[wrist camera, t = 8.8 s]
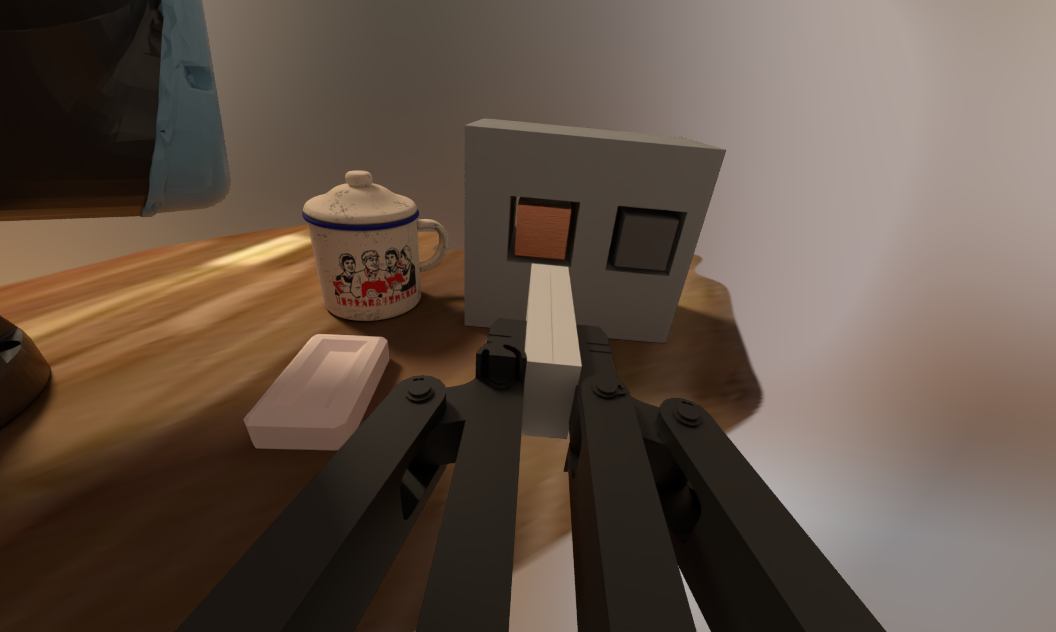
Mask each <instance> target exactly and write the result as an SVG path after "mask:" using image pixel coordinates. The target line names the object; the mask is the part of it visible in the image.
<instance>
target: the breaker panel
mask: <svg viewBox="0 0 1056 632" xmlns="http://www.w3.org/2000/svg"><path fill="white" fill-rule="evenodd" d="M725 152H726V150H724V149H721V148H717V147H714V146H711V145H707V144H704V143H700V142H696V141H693V140H690V139H686V138H683V137H675V136H664V135H654V134H643V133H632V132H622V131H611V130H600V129H589V128H580V127H569V126H558V125H548V124H547V125H546V124H537V123H527V122H516V121H505V120H495V119H482V120H479V121H476V122H473V123H470V124H467V125H465V325H466V326H477V327H489V328H490V327H491V325H492V324H493V323H494V322H495V321H496V320H497V319H498V318H505V319H516V320H526V315H527V305H528V295H529V285H530V276H531V266H532V263H533V264H543V265H553V266H563V267H568V269H569V277H570V284H571V291H572V299H573V306H574V314H575V321H576V324H578V325H588V326H599V327H600V328H601V329H602V330H603V331H604V332H605V334H606V335H607V337H608V338H611V339H623V340H634V341H645V342H656V343H666V341H667V337H668V334H669V331H670V328H671V325H672V322H673V318H674V315H675V312H676V309H677V306H678V302H679V299H680V296H681V293H682V290H683V286H684V283H685V280H686V277H687V274H688V270H689V267H690V264H691V261H692V258H693V254H694V251H695V248H696V245H697V242H698V238H699V235H700V232H701V229H702V226H703V223H704V219H705V216H706V213H707V210H708V206H709V203H710V200H711V197H712V194H713V191H714V187H715V184H716V181H717V178H718V175H719V171H720V168H721V165H722V162H723V158H724V155H725ZM517 196H519V197H530V198H540V199H551V200H562V201H569V202H570V207H571V215H570V222H569V229H568V237H567V244H566V251H565V258H564V260H563V259H552V258H541V257H530V256H519V255H515V241H516V227H517V226H515V215H516V201H517Z"/></svg>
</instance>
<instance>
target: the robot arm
mask: <svg viewBox="0 0 1056 632" xmlns="http://www.w3.org/2000/svg"><path fill="white" fill-rule="evenodd" d="M230 186H231V179H230V172H229V166H228V159H227V153H226V146H225V140H224V133H223V127H222V121H221V114H220V108H219V102H218V96H217V89H216V84H215V77H214V72H213V65H212V58H211V52H210V46H209V39H208V33H207V27H206V21H205V15H204V9H203V4H202V0H0V221H20V220H45V219H46V220H47V219H74V218H99V217H127V216H141V217H152V216H154V215H155V214H156V213H164V212H174V211H184V210H194V209H205V208H209V207H212V206H215V204H217V203H219V202H221V201H222V200H223V199H225V197H226V195H227V194H228V193H229V190H230ZM49 373H50V369H49V365H48V363H47V362H46V360H45V359H44V357H43V356H42V354H41V353H40V351H39V350H38V348H37V347H36V345H35V344H34V342H33V341H32V339H31V338H30V337H29V336H28V335H27V334H26V333H25V332H24V331H23V330H21V329H20V328H18V327H17V326H15V325H14V324H12V323H11V322H9V321H8V320H7V319H5V318H4V317H2V316H1V315H0V427H1V426H3V425H4V424H6V423H7V422H8V421H10V420H11V419H12V418H14V417H15V416H16V415H17V414H19V413H20V412H21V411H22V410H23V409H25V408H26V407H27V406H28V405H29V404H30V403H31V402H32V401H33V400H34V399H35V398H36V397H37V396H38V394H39V393H40V392H41V391H42V389H43V388H44V386H45V385H46V383H47V381H48V378H49ZM568 431H569V434H570V443H569V448H568V452H567V457H566V462H565V467H564V472H568V474H569V491H570V507H571V524H572V541H573V558H574V574H575V591H576V608H577V625H578V632H696V628H695V624H694V621H693V617H692V614H691V610H690V607H689V603H688V599H687V596H686V592H685V589H684V585H683V581H682V578H681V574H680V571H679V568H680V570H681V572H682V574H683V576H684V578H685V580H686V582H687V584H688V586H689V588H690V590H691V592H692V594H693V596H694V598H695V600H696V602H697V604H698V606H699V608H700V610H701V612H702V614H703V616H704V619H705V621H706V622H707V625H708V627H709V629H710V630H711V632H886V630H885V629H884V628H883V627H882V626H881V624H880V623H879V622H878V621H877V620H876V618H874V616H873V615H872V613H871V612H870V611H869V610H868V608H866V606H865V605H864V604H863V602H862V601H861V600H860V599H859V597H858V596H857V595H856V594H855V592H854V591H853V590H852V589H851V588H850V586H849V585H848V584H847V583H846V581H845V580H844V579H843V578H842V576H841V575H840V574H839V573H838V572H837V570H836V569H835V568H834V567H833V565H832V564H831V563H830V562H829V561H828V559H827V558H826V557H825V556H824V554H823V553H822V552H821V551H820V549H819V548H818V547H817V546H816V545H815V543H814V542H813V541H812V540H811V538H810V537H809V536H808V535H807V534H806V533H805V531H804V530H803V529H802V527H801V526H800V525H799V524H798V523H797V521H796V520H795V519H794V518H793V516H792V515H791V514H790V513H789V511H788V510H787V509H786V508H785V506H784V505H783V504H782V503H781V502H780V500H779V499H778V498H777V497H776V495H775V494H774V493H773V492H772V491H771V489H770V488H769V487H768V486H767V485H766V483H765V482H764V481H763V480H762V478H761V477H760V476H759V475H758V473H757V472H756V471H755V470H754V469H753V467H752V466H751V465H750V464H749V462H748V461H747V460H746V459H745V457H744V456H743V455H742V454H741V453H740V451H739V450H738V449H737V448H736V446H735V445H734V444H733V443H732V441H731V440H730V439H729V438H728V437H727V435H726V434H725V433H724V432H723V430H722V429H721V428H720V427H719V425H718V424H717V423H716V422H715V421H714V419H713V418H712V417H711V416H710V414H709V413H708V412H707V411H705V410H704V409H703V408H702V407H701V406H699V405H697V404H695V403H694V402H692V401H688V400H685V399H681V398H671V399H667V400H665V401H664V402H663V403H662V404H661V405H660V408H659V407H656V406H653V405H650V404H647V403H644V402H641V401H639V400H636V399H635V398H633V397H631V395H630V392H629V390H628V388H627V387H626V386H625V385H624V384H623V383H622V382H621V381H620V380H618V376H617V372H616V368H615V364H614V360H613V357H612V354H611V349H610V346H609V341H608V337H607V335H606V334H605V332H604V331H603V330H602V329H601V328H600V327H599V326H588V325H578V324H576V321H575V314H574V306H573V299H572V291H571V284H570V277H569V269H568V267H563V266H553V265H543V264H533V263H532V266H531V276H530V285H529V295H528V305H527V315H526V320H516V319H505V318H498V319H497V320H496V321H495V322H494V323H493V324H492V325H491V327H490V332H489V336H488V340H487V344H485V345H484V346H482V347H480V348H479V350H478V351H477V353H476V378H475V379H473V380H472V381H470V382H468V383H466V384H464V385H459V386H454V387H446V388H445V385H444V384H443V383H442V382H441V381H440V380H439V379H437V378H434V377H432V376H424V375H421V376H413V377H410V378H408V379H405V380H403V381H402V382H400V383H399V384H398V385H396V386H395V388H394V389H393V390H392V391H391V392H390V393H389V394H388V395H387V396H386V398H385V399H384V400H383V401H382V402H381V403H380V404H379V405H378V406H377V408H376V409H375V410H374V411H373V412H372V413H371V414H370V415H369V416H368V418H367V419H366V420H365V421H364V422H363V423H362V424H361V425H360V426H359V428H358V429H357V430H356V431H355V432H354V433H353V434H352V435H351V436H350V438H349V439H348V440H347V441H346V442H345V443H344V444H343V445H342V446H341V448H340V449H339V450H338V451H337V452H336V453H335V454H334V455H333V456H332V458H331V459H330V460H329V461H328V462H327V463H326V464H325V465H324V466H323V468H322V469H321V470H320V471H319V472H318V473H317V474H316V475H315V476H314V478H313V479H312V480H311V481H310V482H309V483H308V484H307V485H306V486H305V488H304V489H303V490H302V491H301V492H300V493H299V494H298V495H297V496H296V498H295V499H294V500H293V501H292V502H291V503H290V504H289V505H288V506H287V508H286V509H285V510H284V511H283V512H282V513H281V514H280V515H279V516H278V518H277V519H276V520H275V521H274V522H273V523H272V524H271V525H270V526H269V528H268V529H267V530H266V531H265V532H264V533H263V534H262V535H261V536H260V538H259V539H258V540H257V541H256V542H255V543H254V544H253V545H252V546H251V548H250V549H249V550H248V551H247V552H246V553H245V554H244V555H243V556H242V558H241V559H240V560H239V561H238V562H237V563H236V564H235V565H234V566H233V568H232V569H231V570H230V571H229V572H228V573H227V574H226V575H225V576H224V578H223V579H222V580H221V581H220V582H219V583H218V584H217V585H216V587H215V588H214V589H213V590H212V591H211V592H210V593H209V594H208V595H207V597H206V598H205V599H204V600H203V601H202V602H201V603H200V604H199V605H198V607H197V608H196V609H195V610H194V611H193V612H192V613H191V614H190V615H189V617H188V618H187V619H186V620H185V621H184V622H183V623H182V624H181V625H180V627H179V628H178V629H177V630H176V631H175V632H354V630H355V629H356V627H357V625H358V623H359V621H360V620H361V618H362V616H363V614H364V613H365V611H366V609H367V607H368V605H369V604H370V602H371V600H372V598H373V596H374V595H375V593H376V591H377V589H378V588H379V586H380V584H381V582H382V580H383V579H384V577H385V575H386V573H387V572H388V570H389V568H390V566H391V564H392V563H393V561H394V559H395V557H396V556H397V554H398V552H399V550H400V548H401V547H402V545H403V543H404V541H405V540H406V538H407V536H408V534H409V532H410V531H411V529H412V527H413V525H414V524H415V522H416V520H417V518H418V516H419V515H420V513H421V511H422V509H423V507H424V506H425V504H426V502H427V500H428V499H429V497H430V495H431V493H432V491H433V490H434V488H435V486H436V484H437V483H438V481H439V479H440V477H441V475H442V474H443V472H444V470H445V468H446V465H447V464H449V463H454V462H456V464H455V468H454V472H453V476H452V481H451V485H450V489H449V493H448V498H447V502H446V506H445V510H444V515H443V519H442V523H441V527H440V532H439V536H438V540H437V544H436V549H435V553H434V557H433V561H432V566H431V570H430V574H429V578H428V583H427V587H426V591H425V595H424V600H423V604H422V608H421V612H420V617H419V621H418V625H417V629H416V632H509V616H510V601H511V585H512V570H513V554H514V539H515V523H516V507H517V492H518V476H519V461H520V445H521V435H529V436H539V437H550V438H561V439H567V436H568ZM678 566H679V567H678Z"/></svg>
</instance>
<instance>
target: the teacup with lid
mask: <svg viewBox="0 0 1056 632" xmlns="http://www.w3.org/2000/svg"><path fill="white" fill-rule="evenodd" d="M345 177H346V182H347V183H346V184H342V185H339V186H336V187H335V188H333V189H332V190H331V191H329V192H328V193H326V194H324V195H320V196H317V197H314V198H312V199H310V200H309V201H307V202H306V203H305V206H304V208H303V214H302V215H303V218H304V219H305V220H306V221H307V222H308V227H309V232H310V237H311V242H312V247H313V252H314V257H315V261H316V266H317V271H318V276H319V281H320V286H321V291H322V296H323V300H324V304H325V307H326V308H327V309H328V310H329V311H330V312H331V313H332V314H334V315H336V316H338V317H341V318H345V319H349V320H356V321H375V320H383V319H388V318H392V317H395V316H398V315H401V314H403V313H405V312H407V311H409V310H411V309H412V308H413V307H415V306H416V305H417V303H418V302H419V300H420V298H421V284H420V272H423V271H427V270H430V269H433V268H434V267H436V266H437V265H439V264H440V262H441V261H442V260H443V258H444V257H445V255H446V252H447V249H448V243H449V242H448V241H449V239H448V234H447V232H446V230H445V228H444V227H443V226H442V225H441V224H439V223H438V222H436V221H434V220H429V219H424V220H423V219H422V220H417V218H418V216H419V211H418V209H417V206H416V205H415V203H414V202H413V201H412V200H411V199H409V198H407V197H404V196H401V195H398V194H394V193H392V192H391V191H389V190H388V189H386V188H385V187H383V186H380V185H377V184H372V176H371V174H370V173H369V172H366V171H349V172H347V174H346V176H345ZM427 228H431V229H435V230H437V231H438V233H439V245H438V248H437V251H436V252H435V254H434V255H433V256H432V257H431V258H430V259H428V260H426V261H424V262H420V263H419V251H418V235H417V230H418V229H427Z"/></svg>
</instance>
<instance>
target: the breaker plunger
mask: <svg viewBox="0 0 1056 632" xmlns="http://www.w3.org/2000/svg"><path fill="white" fill-rule="evenodd" d="M570 215H571V207H570V202H569V201H562V200H551V199H540V198H530V197H520V199H519V203H518V212H517V227H516V241H515V255H519V256H530V257H541V258H552V259H563V260H564V258H565V251H566V244H567V237H568V229H569V222H570Z"/></svg>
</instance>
